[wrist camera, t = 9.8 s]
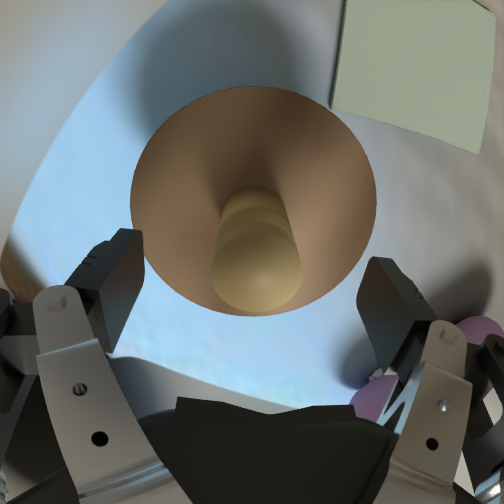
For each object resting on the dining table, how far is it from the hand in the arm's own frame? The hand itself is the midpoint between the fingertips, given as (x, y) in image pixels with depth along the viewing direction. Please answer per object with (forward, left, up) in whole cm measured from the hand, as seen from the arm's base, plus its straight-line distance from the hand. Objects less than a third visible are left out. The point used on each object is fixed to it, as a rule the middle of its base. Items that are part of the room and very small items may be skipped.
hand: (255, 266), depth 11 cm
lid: (0, 0, -5) cm, 5 cm away
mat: (-11, -12, -11) cm, 20 cm away
